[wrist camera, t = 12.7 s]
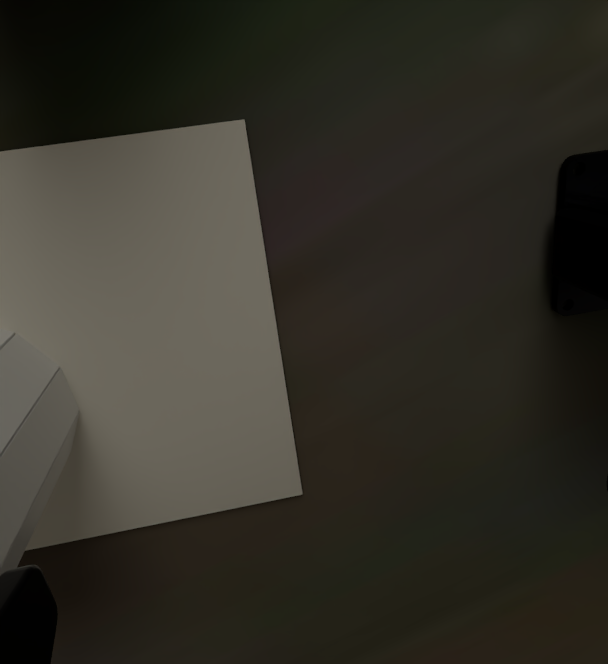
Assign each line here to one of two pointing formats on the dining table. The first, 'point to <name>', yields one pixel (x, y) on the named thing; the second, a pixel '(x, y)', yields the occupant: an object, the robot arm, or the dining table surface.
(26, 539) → the cover cup
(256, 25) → the dining table surface
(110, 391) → the placemat
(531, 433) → the dining table surface
